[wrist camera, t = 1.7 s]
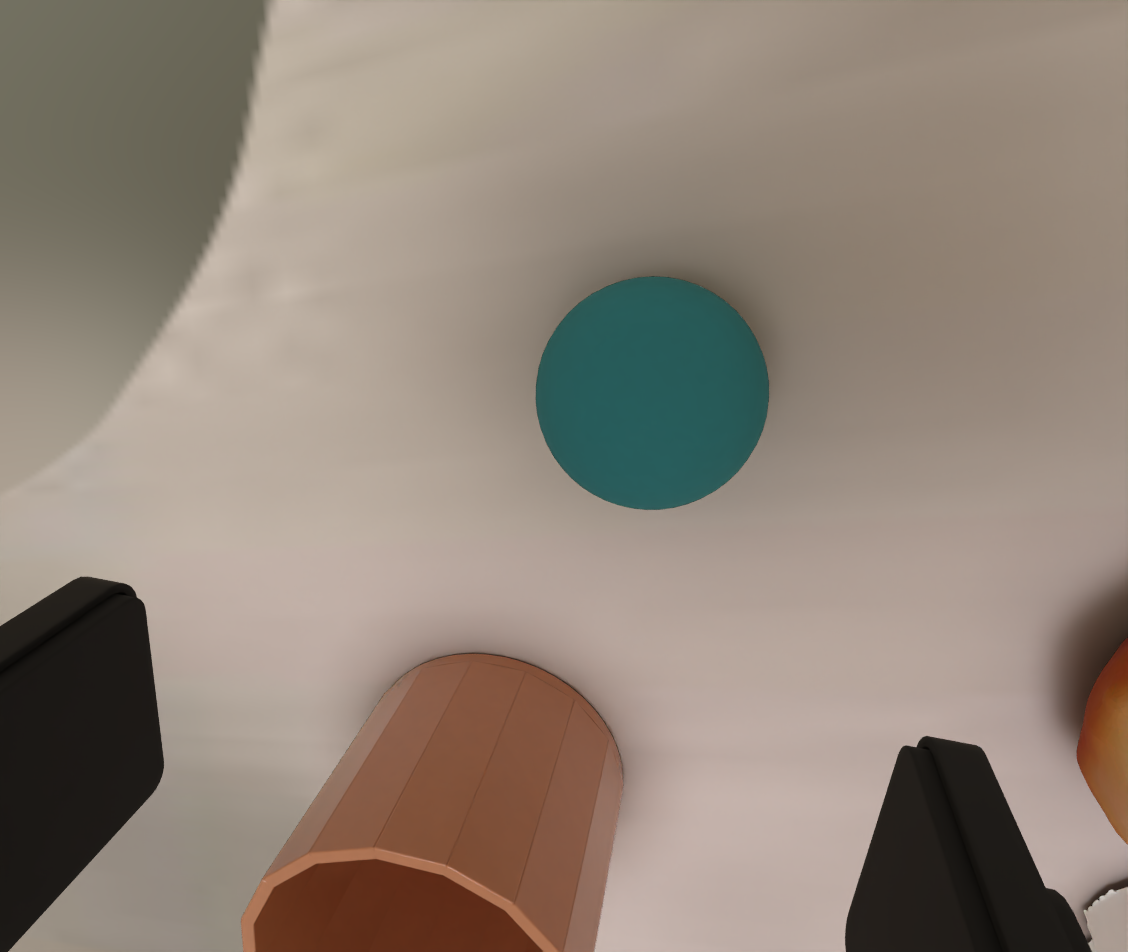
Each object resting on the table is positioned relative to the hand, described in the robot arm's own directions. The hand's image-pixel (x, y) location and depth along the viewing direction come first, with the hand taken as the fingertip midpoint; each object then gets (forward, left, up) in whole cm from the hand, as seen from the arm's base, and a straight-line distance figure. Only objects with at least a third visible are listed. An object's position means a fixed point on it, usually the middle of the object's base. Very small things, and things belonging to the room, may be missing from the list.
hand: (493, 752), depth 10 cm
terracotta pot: (+3, +15, -16) cm, 22 cm away
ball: (-1, -1, -13) cm, 13 cm away
